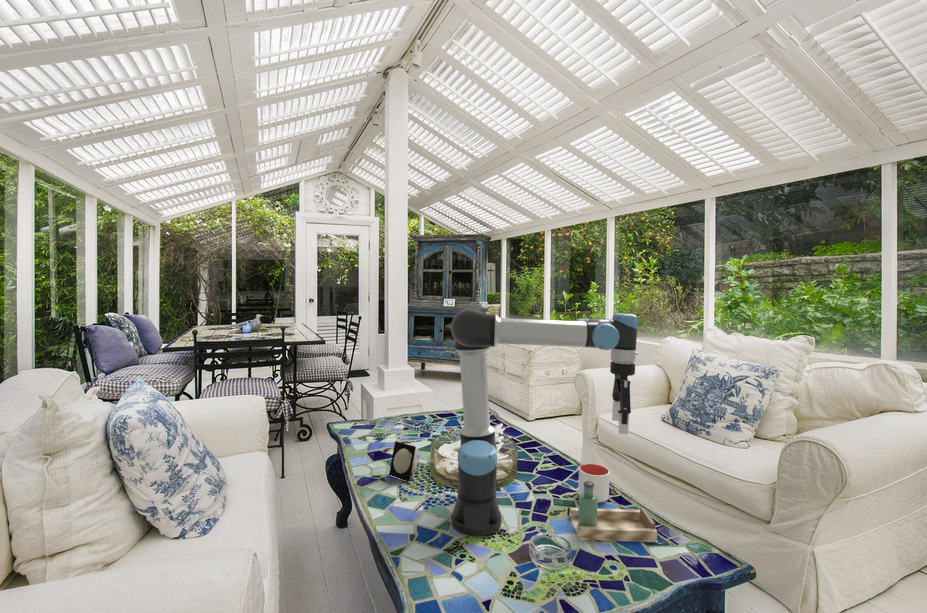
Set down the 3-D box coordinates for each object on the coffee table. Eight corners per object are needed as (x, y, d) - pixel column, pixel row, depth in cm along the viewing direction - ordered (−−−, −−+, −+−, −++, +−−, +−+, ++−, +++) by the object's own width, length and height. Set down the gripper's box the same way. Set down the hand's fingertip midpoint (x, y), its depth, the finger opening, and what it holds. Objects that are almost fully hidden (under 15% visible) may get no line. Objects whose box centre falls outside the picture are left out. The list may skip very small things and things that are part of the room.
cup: (610, 507, 147) (611, 477, 146) (578, 503, 149) (579, 474, 148) (606, 493, 157) (607, 465, 156) (577, 489, 159) (578, 462, 158)
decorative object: (401, 474, 174) (421, 481, 168) (383, 476, 165) (404, 483, 160) (407, 440, 176) (427, 446, 171) (390, 441, 167) (411, 446, 162)
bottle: (580, 531, 130) (581, 487, 130) (576, 521, 136) (577, 479, 135) (599, 531, 130) (600, 487, 130) (594, 521, 136) (595, 479, 135)
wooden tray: (579, 543, 126) (579, 525, 126) (568, 517, 140) (569, 501, 140) (658, 545, 126) (658, 528, 125) (639, 519, 140) (640, 503, 139)
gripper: (643, 369, 131) (639, 441, 132) (628, 356, 155) (625, 416, 156) (616, 368, 132) (613, 438, 133) (605, 354, 157) (602, 414, 158)
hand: (619, 426), depth 145 cm, fingers open, 13 cm apart
